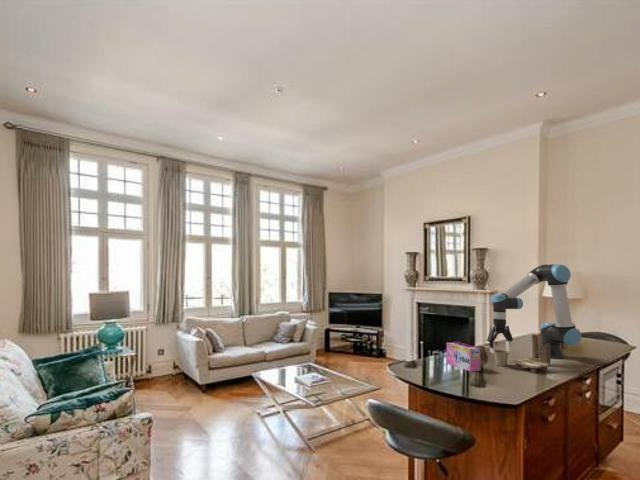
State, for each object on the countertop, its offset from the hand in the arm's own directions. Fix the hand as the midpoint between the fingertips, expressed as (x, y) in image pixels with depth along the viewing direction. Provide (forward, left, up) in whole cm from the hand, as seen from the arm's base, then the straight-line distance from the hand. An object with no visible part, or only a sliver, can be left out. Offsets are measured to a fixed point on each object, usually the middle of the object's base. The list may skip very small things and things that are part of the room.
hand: (500, 352), depth 248 cm
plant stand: (-7, +16, -8) cm, 19 cm away
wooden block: (-25, +9, -8) cm, 28 cm away
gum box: (+25, -7, -8) cm, 27 cm away
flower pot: (0, 0, -8) cm, 8 cm away
